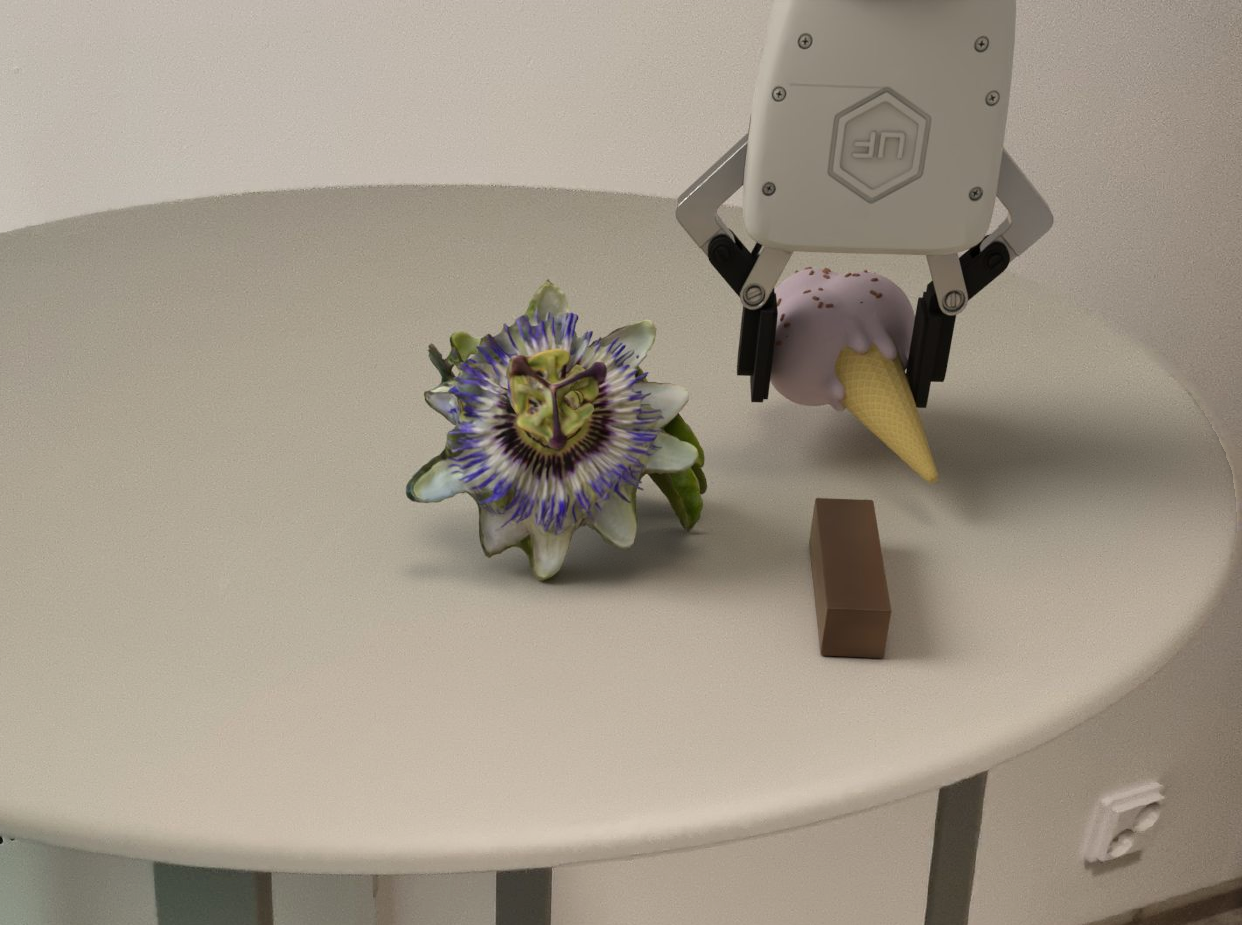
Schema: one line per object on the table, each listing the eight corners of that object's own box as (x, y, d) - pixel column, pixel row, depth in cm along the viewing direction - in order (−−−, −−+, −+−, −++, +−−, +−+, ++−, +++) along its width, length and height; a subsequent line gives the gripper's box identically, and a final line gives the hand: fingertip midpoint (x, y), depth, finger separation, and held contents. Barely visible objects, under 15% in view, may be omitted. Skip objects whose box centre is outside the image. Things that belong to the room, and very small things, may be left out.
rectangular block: (866, 545, 80) (873, 499, 79) (883, 659, 73) (891, 610, 71) (809, 542, 80) (815, 497, 79) (820, 656, 73) (827, 608, 72)
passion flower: (543, 690, 82) (388, 504, 74) (499, 539, 89) (352, 352, 80) (776, 547, 78) (640, 332, 69) (711, 400, 85) (580, 188, 76)
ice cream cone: (999, 393, 77) (864, 200, 86) (835, 474, 79) (719, 277, 87) (1017, 496, 82) (888, 304, 91) (862, 571, 84) (749, 375, 92)
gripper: (675, -56, 71) (640, 420, 83) (1150, -50, 70) (1045, 434, 81) (676, -93, 77) (644, 357, 89) (1117, -89, 75) (1023, 369, 87)
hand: (836, 390), depth 85 cm, fingers closed on ice cream cone, 6 cm apart
